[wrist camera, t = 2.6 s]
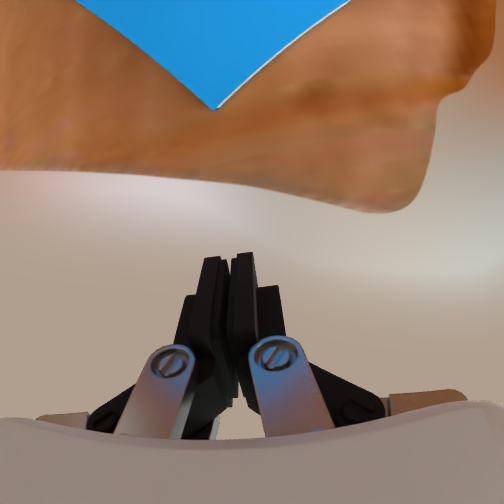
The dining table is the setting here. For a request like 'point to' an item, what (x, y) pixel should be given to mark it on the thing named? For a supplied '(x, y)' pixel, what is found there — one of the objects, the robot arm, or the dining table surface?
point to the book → (213, 36)
